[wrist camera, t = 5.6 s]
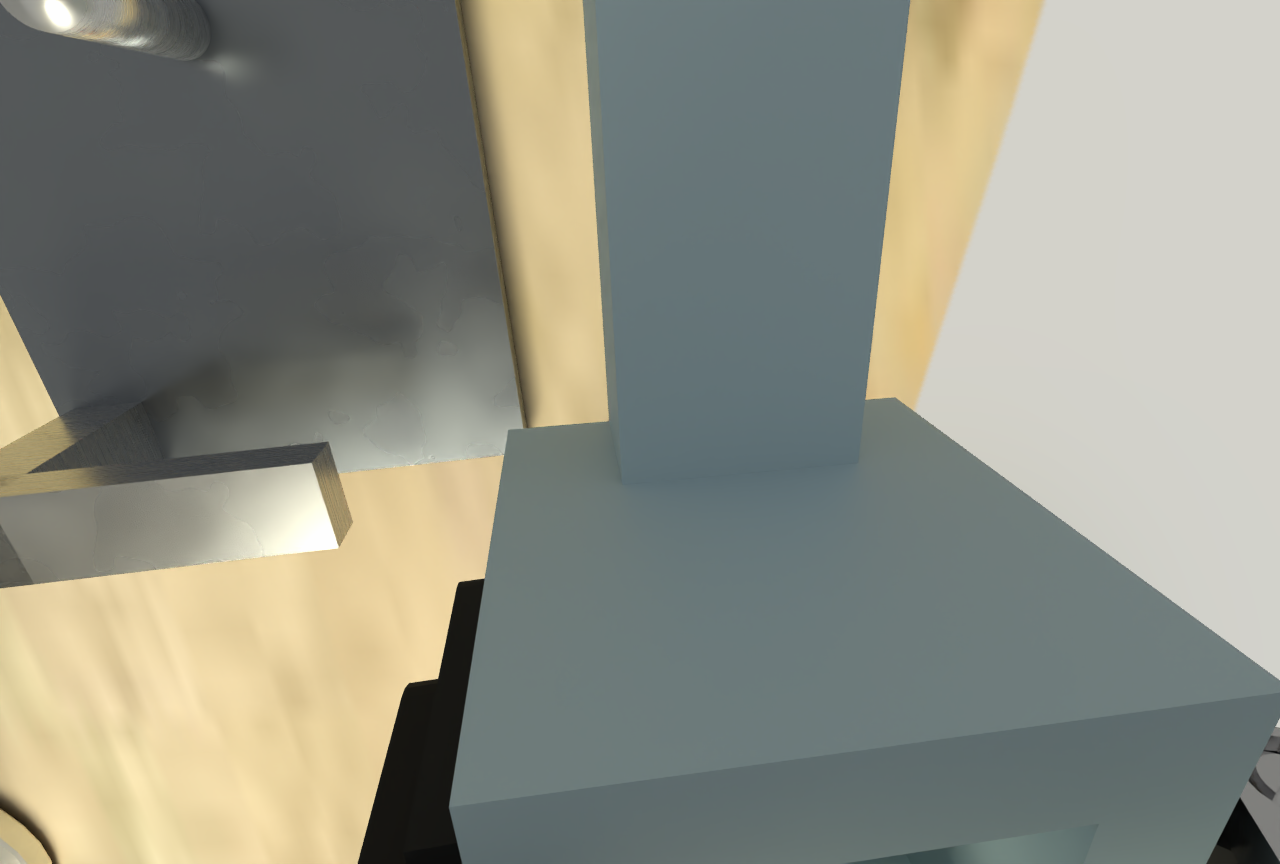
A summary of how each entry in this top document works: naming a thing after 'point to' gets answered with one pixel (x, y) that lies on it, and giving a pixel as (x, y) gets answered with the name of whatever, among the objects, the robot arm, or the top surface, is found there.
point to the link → (804, 530)
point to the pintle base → (239, 272)
